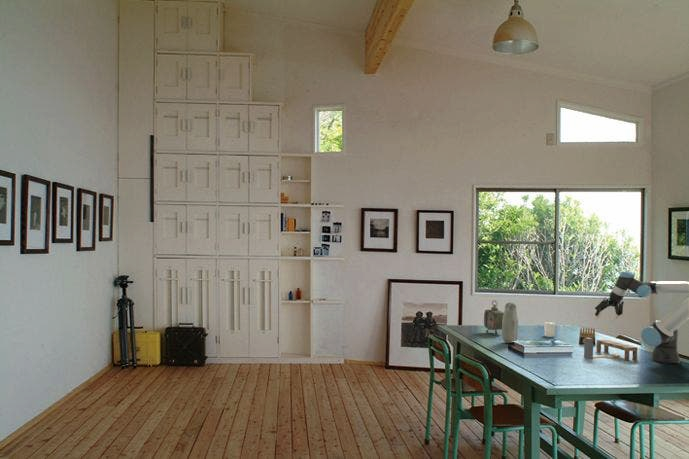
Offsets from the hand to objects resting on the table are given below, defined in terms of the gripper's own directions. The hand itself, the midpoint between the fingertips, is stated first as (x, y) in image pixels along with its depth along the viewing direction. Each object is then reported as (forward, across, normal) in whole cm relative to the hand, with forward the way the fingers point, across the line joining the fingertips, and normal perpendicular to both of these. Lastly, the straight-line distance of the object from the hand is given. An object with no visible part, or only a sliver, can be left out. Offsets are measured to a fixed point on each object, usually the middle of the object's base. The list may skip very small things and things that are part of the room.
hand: (603, 321), depth 336 cm
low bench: (+14, -3, +18) cm, 23 cm away
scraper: (+15, +11, +20) cm, 27 cm away
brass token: (+14, -3, +19) cm, 24 cm away
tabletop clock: (+50, +35, -51) cm, 79 cm away
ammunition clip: (+27, -11, -13) cm, 32 cm away
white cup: (+40, -3, -40) cm, 56 cm away
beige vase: (+38, +44, -20) cm, 61 cm away
